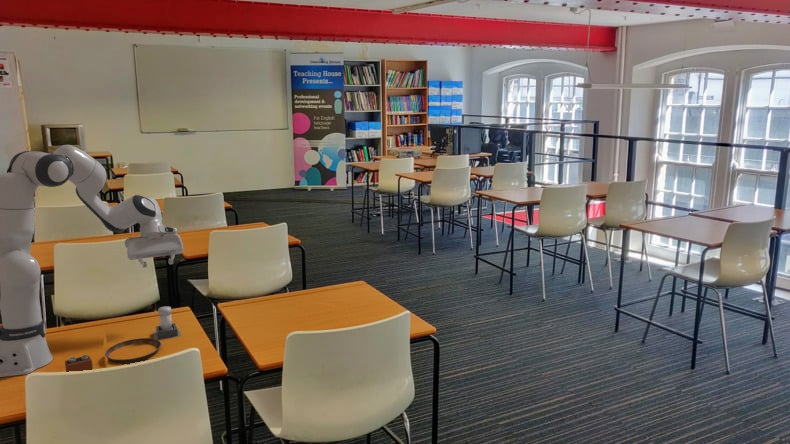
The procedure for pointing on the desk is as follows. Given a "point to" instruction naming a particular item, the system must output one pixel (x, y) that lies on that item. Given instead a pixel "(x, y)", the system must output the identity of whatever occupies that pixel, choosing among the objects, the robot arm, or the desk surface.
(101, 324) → the desk surface
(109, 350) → the dark grey ring
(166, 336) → the dark grey square tray
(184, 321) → the desk surface
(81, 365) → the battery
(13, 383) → the desk surface
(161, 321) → the cylinder
